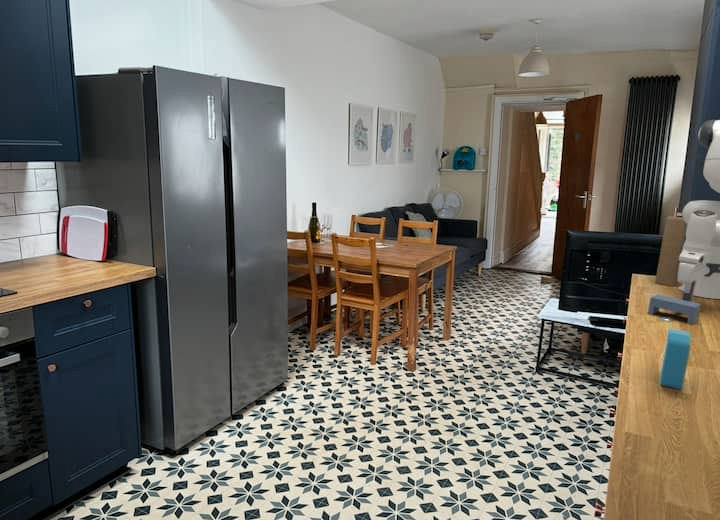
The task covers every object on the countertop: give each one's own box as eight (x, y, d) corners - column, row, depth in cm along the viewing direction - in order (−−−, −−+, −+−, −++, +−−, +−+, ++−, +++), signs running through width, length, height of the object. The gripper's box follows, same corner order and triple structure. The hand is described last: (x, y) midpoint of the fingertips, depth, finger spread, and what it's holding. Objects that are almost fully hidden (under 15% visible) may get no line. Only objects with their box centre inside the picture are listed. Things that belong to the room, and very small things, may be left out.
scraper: (675, 307, 197) (682, 273, 195) (696, 311, 192) (704, 277, 190) (665, 309, 188) (672, 273, 187) (686, 314, 183) (694, 278, 182)
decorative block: (677, 281, 241) (689, 216, 235) (674, 286, 229) (686, 219, 223) (659, 278, 246) (670, 214, 239) (654, 283, 234) (666, 217, 227)
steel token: (661, 318, 182) (662, 316, 182) (674, 321, 180) (675, 319, 179) (658, 320, 180) (658, 318, 179) (671, 324, 177) (671, 321, 177)
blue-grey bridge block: (654, 310, 191) (657, 294, 190) (698, 320, 181) (701, 304, 180) (647, 313, 187) (650, 297, 185) (692, 324, 177) (695, 307, 175)
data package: (661, 370, 136) (669, 326, 134) (681, 374, 134) (690, 330, 131) (660, 387, 126) (669, 340, 123) (682, 392, 124) (691, 344, 121)
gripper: (694, 251, 199) (687, 286, 202) (677, 256, 185) (670, 293, 188) (713, 254, 195) (706, 289, 198) (697, 259, 181) (690, 298, 184)
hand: (688, 291), depth 193 cm, fingers closed on scraper, 3 cm apart
